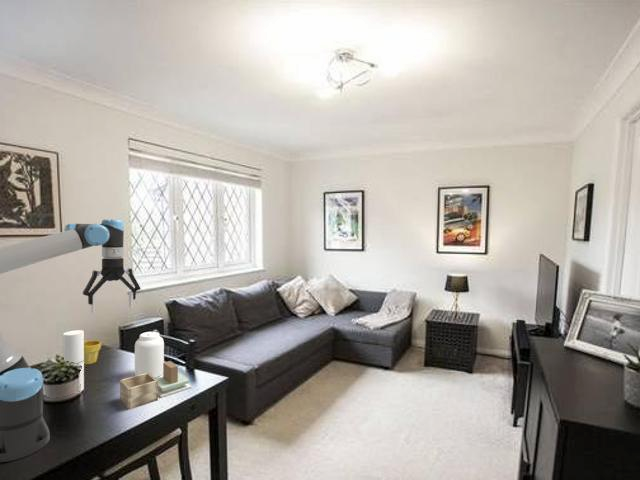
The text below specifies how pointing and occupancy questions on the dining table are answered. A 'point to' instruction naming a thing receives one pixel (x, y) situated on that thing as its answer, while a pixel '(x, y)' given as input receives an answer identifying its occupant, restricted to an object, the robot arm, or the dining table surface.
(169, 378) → the lid
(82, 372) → the cylindrical container
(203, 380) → the dining table surface
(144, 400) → the storage box
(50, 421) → the dining table surface
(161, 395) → the felt mat
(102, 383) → the dining table surface
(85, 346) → the plant pot
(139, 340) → the white jar
